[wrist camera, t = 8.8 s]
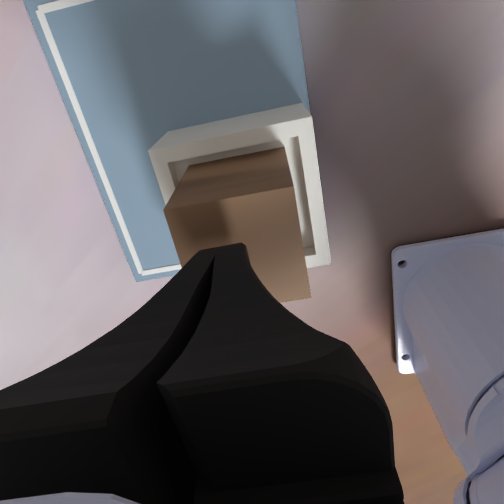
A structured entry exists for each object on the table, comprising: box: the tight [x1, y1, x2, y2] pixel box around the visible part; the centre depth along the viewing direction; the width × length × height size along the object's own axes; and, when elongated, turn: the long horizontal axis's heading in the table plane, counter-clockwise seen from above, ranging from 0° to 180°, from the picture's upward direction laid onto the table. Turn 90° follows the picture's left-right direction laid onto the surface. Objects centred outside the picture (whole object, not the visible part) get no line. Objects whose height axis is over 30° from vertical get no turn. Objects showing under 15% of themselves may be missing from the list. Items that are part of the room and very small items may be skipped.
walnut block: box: [163, 147, 311, 303], centre depth 15 cm, size 4×4×5 cm
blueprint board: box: [23, 0, 331, 282], centre depth 18 cm, size 14×11×5 cm
